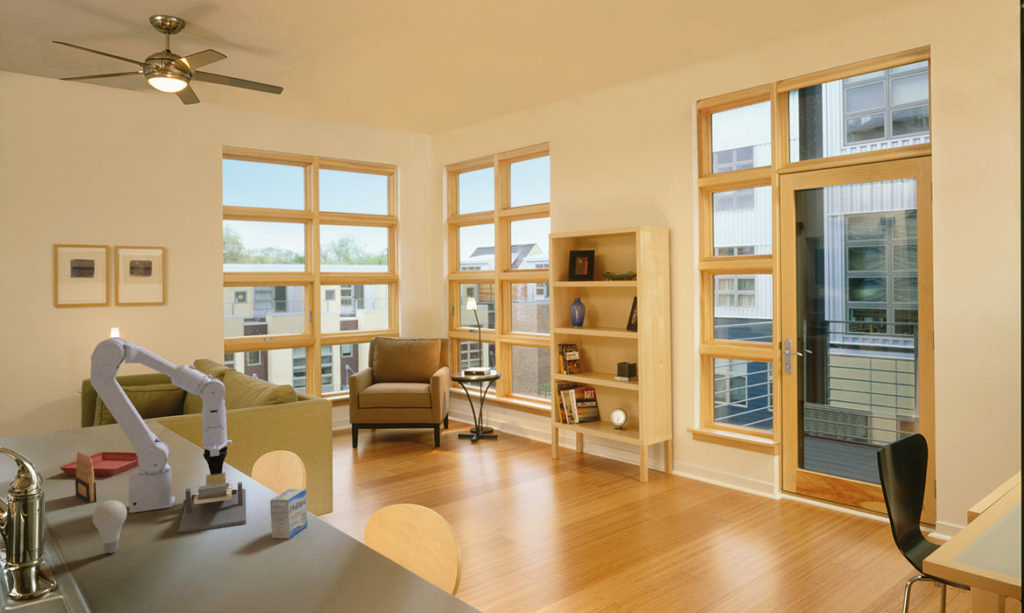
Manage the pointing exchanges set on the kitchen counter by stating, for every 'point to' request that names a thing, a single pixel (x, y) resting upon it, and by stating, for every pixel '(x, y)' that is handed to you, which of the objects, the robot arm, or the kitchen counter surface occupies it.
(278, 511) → the medicine box
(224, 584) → the kitchen counter surface
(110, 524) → the lightbulb
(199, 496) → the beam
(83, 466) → the ammunition clip
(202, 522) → the stand
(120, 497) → the kitchen counter surface
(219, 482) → the block
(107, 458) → the red tray
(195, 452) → the kitchen counter surface
